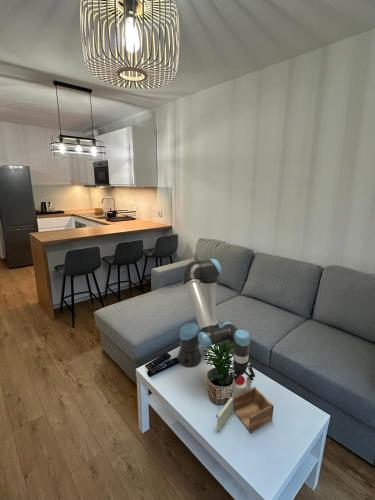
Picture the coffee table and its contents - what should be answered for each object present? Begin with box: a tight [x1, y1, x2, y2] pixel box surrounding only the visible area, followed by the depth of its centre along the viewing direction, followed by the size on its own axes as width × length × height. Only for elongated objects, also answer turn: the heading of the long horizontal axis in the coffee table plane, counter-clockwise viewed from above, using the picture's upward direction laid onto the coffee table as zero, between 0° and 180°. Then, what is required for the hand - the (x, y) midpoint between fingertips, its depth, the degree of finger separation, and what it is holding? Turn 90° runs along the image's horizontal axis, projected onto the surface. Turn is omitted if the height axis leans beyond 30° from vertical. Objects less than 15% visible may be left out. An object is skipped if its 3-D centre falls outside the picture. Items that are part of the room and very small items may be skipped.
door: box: [215, 396, 234, 432], centre depth 125 cm, size 13×2×9 cm, turn 142°
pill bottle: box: [231, 374, 247, 400], centre depth 139 cm, size 8×8×11 cm
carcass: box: [232, 386, 275, 434], centre depth 127 cm, size 13×14×9 cm
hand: (238, 393), depth 140 cm, fingers open, 12 cm apart
